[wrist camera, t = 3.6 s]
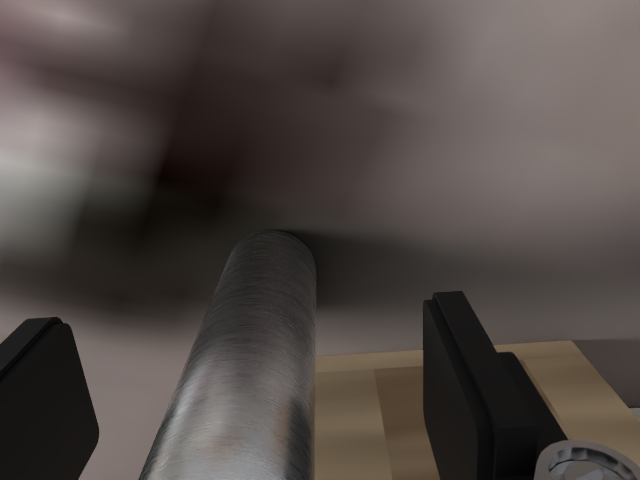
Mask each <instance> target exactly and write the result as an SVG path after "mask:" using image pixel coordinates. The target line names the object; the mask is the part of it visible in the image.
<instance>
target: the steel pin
mask: <svg viewBox="0 0 640 480" xmlns="http://www.w3.org/2000/svg"><path fill="white" fill-rule="evenodd" d="M315 373H316V265H315V261H314V258H313V256H312V253H311V252H310V250H309V249H308V248H307V246H306V245H305V244H304V243H303V242H302V241H301V240H299V239H298V238H296V237H295V236H293V235H291V234H288V233H286V232H282V231H277V230H263V231H258V232H255V233H252V234H250V235H248V236H246V237H245V238H243V239H242V240H241V241H240V242H239V243H238V244H237V245H236V246H235V247H234V249H233V250H232V252H231V254H230V256H229V259H228V261H227V264H226V266H225V268H224V271H223V273H222V276H221V278H220V281H219V283H218V286H217V288H216V291H215V293H214V295H213V298H212V300H211V303H210V305H209V308H208V310H207V313H206V315H205V318H204V320H203V322H202V325H201V327H200V330H199V332H198V335H197V337H196V340H195V342H194V345H193V347H192V349H191V352H190V354H189V357H188V359H187V362H186V364H185V367H184V369H183V372H182V374H181V376H180V379H179V381H178V384H177V386H176V389H175V391H174V394H173V396H172V399H171V401H170V403H169V406H168V408H167V411H166V413H165V416H164V418H163V421H162V423H161V426H160V428H159V430H158V433H157V435H156V438H155V440H154V443H153V445H152V448H151V450H150V453H149V455H148V457H147V460H146V462H145V465H144V467H143V470H142V472H141V475H140V477H139V480H315Z"/></svg>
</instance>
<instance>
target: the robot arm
mask: <svg viewBox="0 0 640 480" xmlns="http://www.w3.org/2000/svg"><path fill="white" fill-rule="evenodd" d="M423 414H424V421H425V426H426V430H427V434H428V437H429V441H430V444H431V448H432V452H433V455H434V459H435V462H436V466H437V470H438V473H439V477H440V480H640V467H639V466H638V465H637V464H636V463H634V462H633V461H632V460H631V459H630V458H628V457H627V456H625V455H623V454H621V453H620V452H618V451H616V450H614V449H612V448H610V447H607V446H604V445H601V444H598V443H595V442H589V441H583V440H568V438H567V436H566V435H565V433H564V432H563V430H562V428H561V427H560V425H559V424H558V422H557V421H556V419H555V417H554V416H553V414H552V413H551V411H550V409H549V408H548V406H547V405H546V403H545V401H544V400H543V398H542V397H541V395H540V393H539V392H538V390H537V389H536V387H535V385H534V384H533V382H532V381H531V379H530V377H529V376H528V374H527V373H526V371H525V369H524V368H523V366H522V365H521V363H520V361H519V360H518V358H517V357H516V356H515V354H514V353H512V352H497V351H496V349H495V348H494V346H493V344H492V342H491V341H490V339H489V337H488V335H487V334H486V332H485V330H484V328H483V327H482V325H481V323H480V321H479V320H478V318H477V316H476V314H475V313H474V311H473V309H472V307H471V306H470V304H469V302H468V300H467V299H466V297H465V295H464V294H463V292H462V291H453V292H437V293H434V294H433V297H432V300H424V303H423ZM98 439H99V427H98V423H97V419H96V415H95V412H94V408H93V405H92V401H91V397H90V394H89V390H88V387H87V383H86V379H85V376H84V372H83V369H82V365H81V361H80V358H79V354H78V351H77V347H76V343H75V340H74V336H73V333H72V330H71V327H70V326H69V324H67V323H63V322H62V321H61V319H60V318H58V317H49V318H34V319H27V320H25V321H24V322H23V323H22V324H21V325H20V326H19V327H18V328H17V329H16V330H15V331H14V332H12V333H11V334H10V335H9V336H8V337H7V338H6V339H5V340H4V341H3V342H2V343H1V344H0V480H78V479H79V477H80V475H81V473H82V471H83V469H84V468H85V466H86V464H87V462H88V460H89V458H90V457H91V455H92V453H93V451H94V449H95V447H96V445H97V443H98Z"/></svg>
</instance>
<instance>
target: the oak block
mask: <svg viewBox="0 0 640 480" xmlns="http://www.w3.org/2000/svg"><path fill="white" fill-rule="evenodd" d="M493 346H494V348H495V349H496V351H497V352H512V353H514V354H515V356H516V357H517V358H518V360H519V361H520V363H521V365H522V366H523V368H524V369H525V371H526V373H527V374H528V376H529V377H530V379H531V381H532V382H533V384H534V385H535V387H536V389H537V390H538V392H539V393H540V395H541V397H542V398H543V400H544V401H545V403H546V405H547V406H548V408H549V409H550V411H551V413H552V414H553V416H554V417H555V419H556V421H557V422H558V424H559V425H560V427H561V428H562V430H563V432H564V433H565V435H566V436H567V438H568V440H583V441H589V442H595V443H598V444H601V445H604V446H607V447H610V448H612V449H614V450H616V451H618V452H620V453H621V454H623V455H625V456H627V457H628V458H630V459H631V460H632V461H633V462H634V463H636V464H637V465H638V466H639V467H640V421H639V420H638V419H637V417H636V416H635V415H634V414H633V413H632V412H631V410H630V409H629V408H628V407H627V406H626V404H625V403H624V402H623V401H622V400H621V398H620V397H619V396H618V395H617V394H616V393H615V391H614V390H613V389H612V388H611V387H610V385H609V384H608V383H607V382H606V381H605V379H604V378H603V377H602V376H601V375H600V374H599V372H598V371H597V370H596V369H595V368H594V366H593V365H592V364H591V363H590V362H589V361H588V359H587V358H586V357H585V356H584V355H583V353H582V352H581V351H580V350H579V349H578V347H577V346H576V345H575V344H574V343H573V342H572V340H566V341H550V342H534V343H519V344H503V345H493ZM315 480H440V477H439V473H438V470H437V466H436V462H435V459H434V455H433V452H432V448H431V444H430V441H429V437H428V434H427V430H426V426H425V421H424V414H423V350H408V351H393V352H377V353H361V354H345V355H330V356H316V373H315Z"/></svg>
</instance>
